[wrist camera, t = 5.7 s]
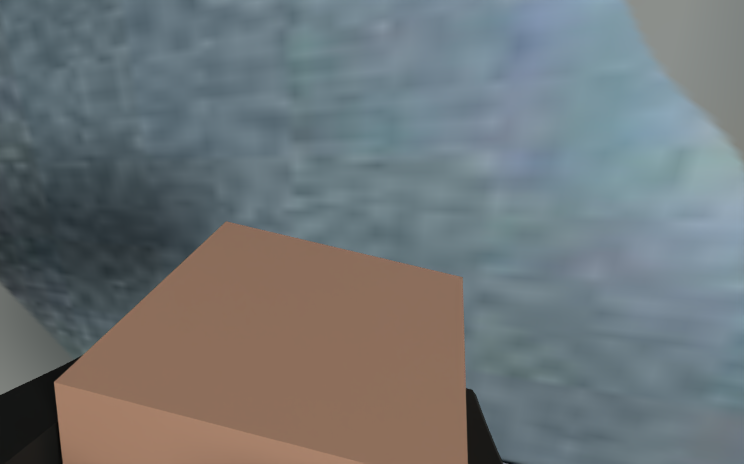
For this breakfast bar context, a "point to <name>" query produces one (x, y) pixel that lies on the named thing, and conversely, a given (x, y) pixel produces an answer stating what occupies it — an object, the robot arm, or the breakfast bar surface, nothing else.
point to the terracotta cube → (275, 363)
